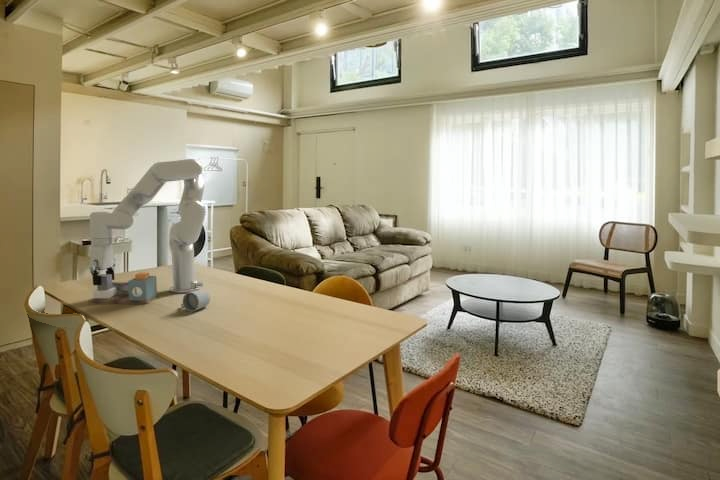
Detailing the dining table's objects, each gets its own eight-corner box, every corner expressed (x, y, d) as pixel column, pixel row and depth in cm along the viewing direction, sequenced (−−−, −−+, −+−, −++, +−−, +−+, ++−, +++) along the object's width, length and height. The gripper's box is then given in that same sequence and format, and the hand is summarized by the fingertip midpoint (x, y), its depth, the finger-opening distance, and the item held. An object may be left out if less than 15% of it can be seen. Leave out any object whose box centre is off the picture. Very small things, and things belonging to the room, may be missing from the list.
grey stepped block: (117, 294, 182) (116, 273, 181) (108, 298, 175) (107, 277, 174) (102, 294, 182) (101, 273, 181) (93, 298, 175) (92, 277, 174)
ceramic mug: (212, 306, 172) (211, 288, 171) (198, 312, 164) (197, 293, 163) (189, 304, 175) (188, 286, 174) (175, 310, 167) (174, 291, 166)
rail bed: (157, 297, 185) (156, 282, 184) (146, 303, 175) (145, 287, 174) (102, 297, 184) (101, 281, 183) (89, 303, 174) (88, 287, 173)
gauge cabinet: (157, 293, 185) (156, 275, 183) (145, 300, 174) (144, 281, 173) (140, 293, 184) (139, 275, 183) (128, 300, 174) (127, 281, 173)
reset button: (149, 279, 181) (149, 272, 180) (145, 281, 177) (144, 274, 176) (139, 279, 180) (139, 272, 180) (135, 281, 176) (135, 274, 176)
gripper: (104, 239, 184) (106, 277, 186) (79, 244, 167) (82, 287, 169) (121, 239, 184) (123, 278, 186) (99, 244, 167) (101, 287, 169)
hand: (104, 282), depth 178 cm, fingers open, 9 cm apart
